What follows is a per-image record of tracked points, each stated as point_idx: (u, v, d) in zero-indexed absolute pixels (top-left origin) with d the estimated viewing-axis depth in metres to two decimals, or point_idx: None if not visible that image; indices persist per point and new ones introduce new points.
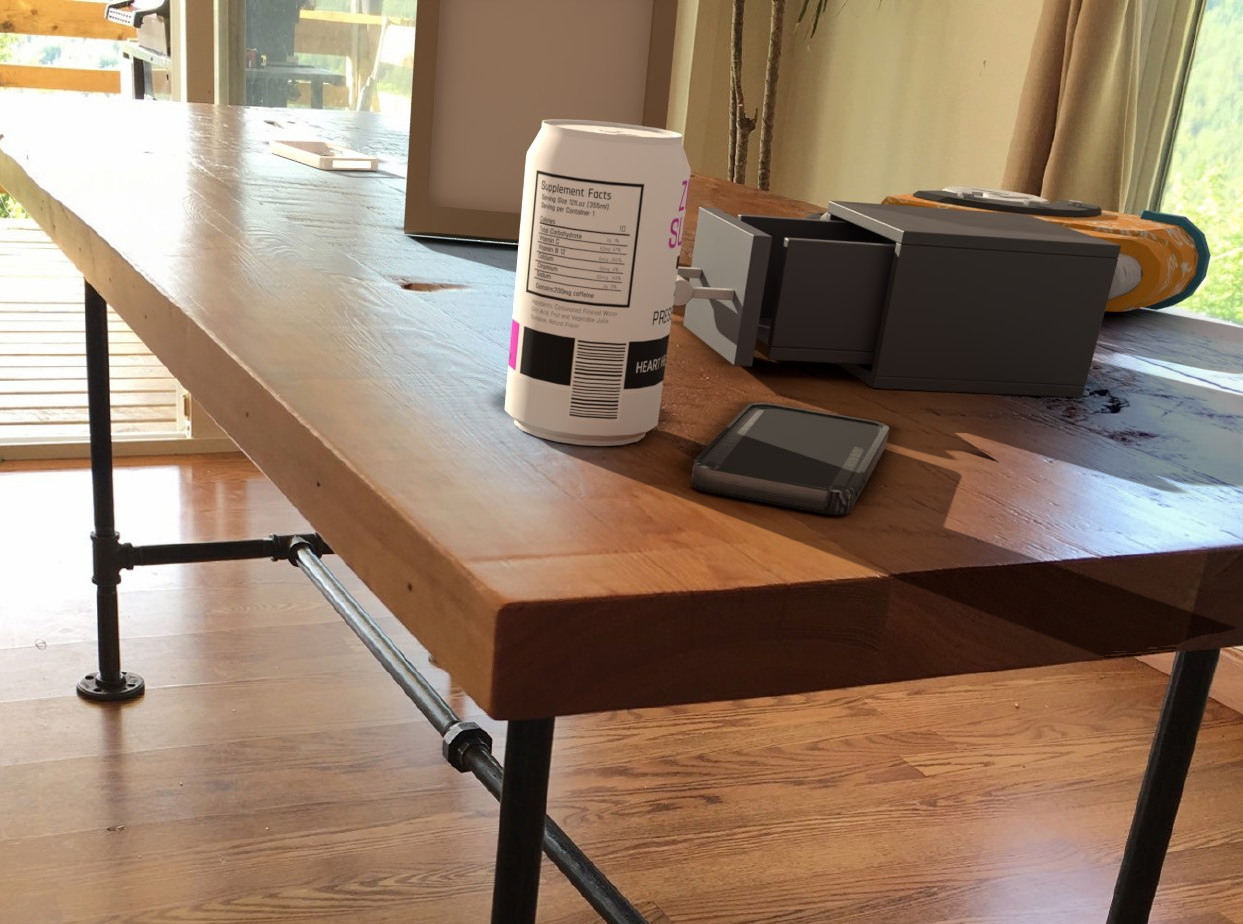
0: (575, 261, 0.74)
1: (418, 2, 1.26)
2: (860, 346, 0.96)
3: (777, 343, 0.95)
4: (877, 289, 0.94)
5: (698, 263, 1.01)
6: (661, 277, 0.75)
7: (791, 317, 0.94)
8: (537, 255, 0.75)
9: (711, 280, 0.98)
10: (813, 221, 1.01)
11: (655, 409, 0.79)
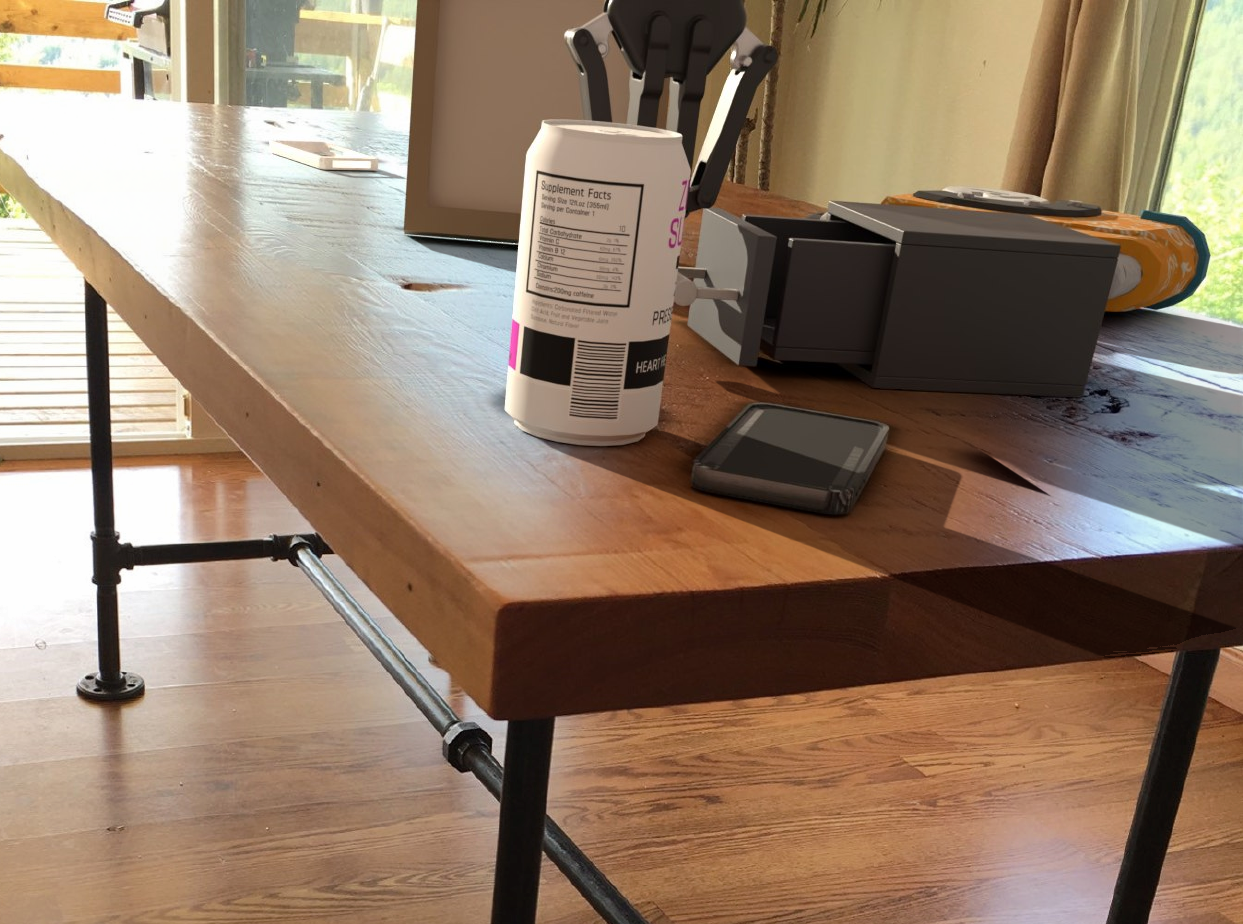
0: (575, 261, 0.74)
1: (418, 2, 1.26)
2: (864, 346, 0.96)
3: (781, 343, 0.95)
4: (881, 289, 0.94)
5: (702, 263, 1.01)
6: (661, 277, 0.75)
7: (795, 317, 0.94)
8: (537, 255, 0.75)
9: (716, 280, 0.98)
10: (817, 221, 1.01)
11: (655, 409, 0.79)
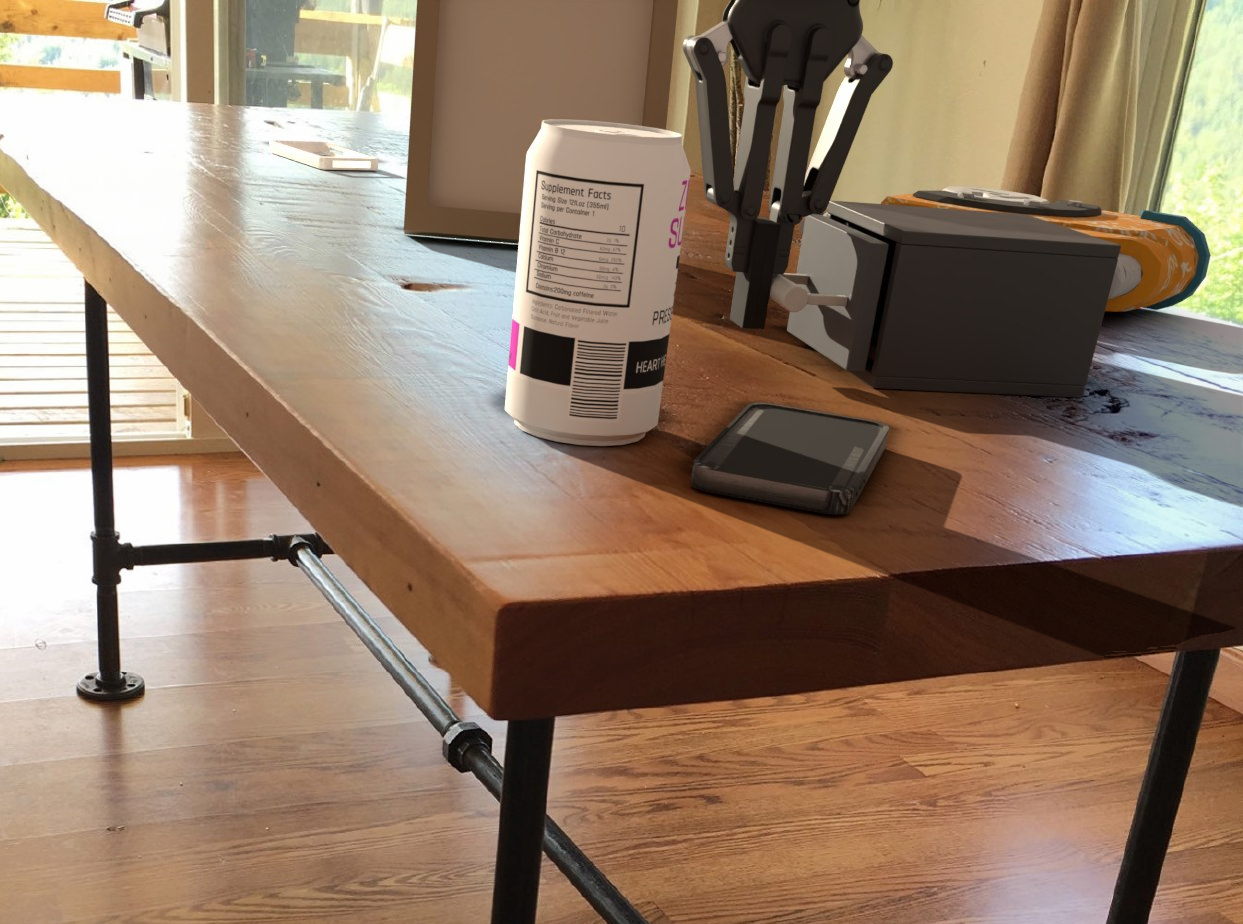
0: (575, 261, 0.74)
1: (418, 2, 1.26)
2: None
3: None
4: None
5: (805, 269, 1.02)
6: (661, 277, 0.75)
7: None
8: (537, 255, 0.75)
9: (821, 287, 1.00)
10: None
11: (655, 409, 0.79)
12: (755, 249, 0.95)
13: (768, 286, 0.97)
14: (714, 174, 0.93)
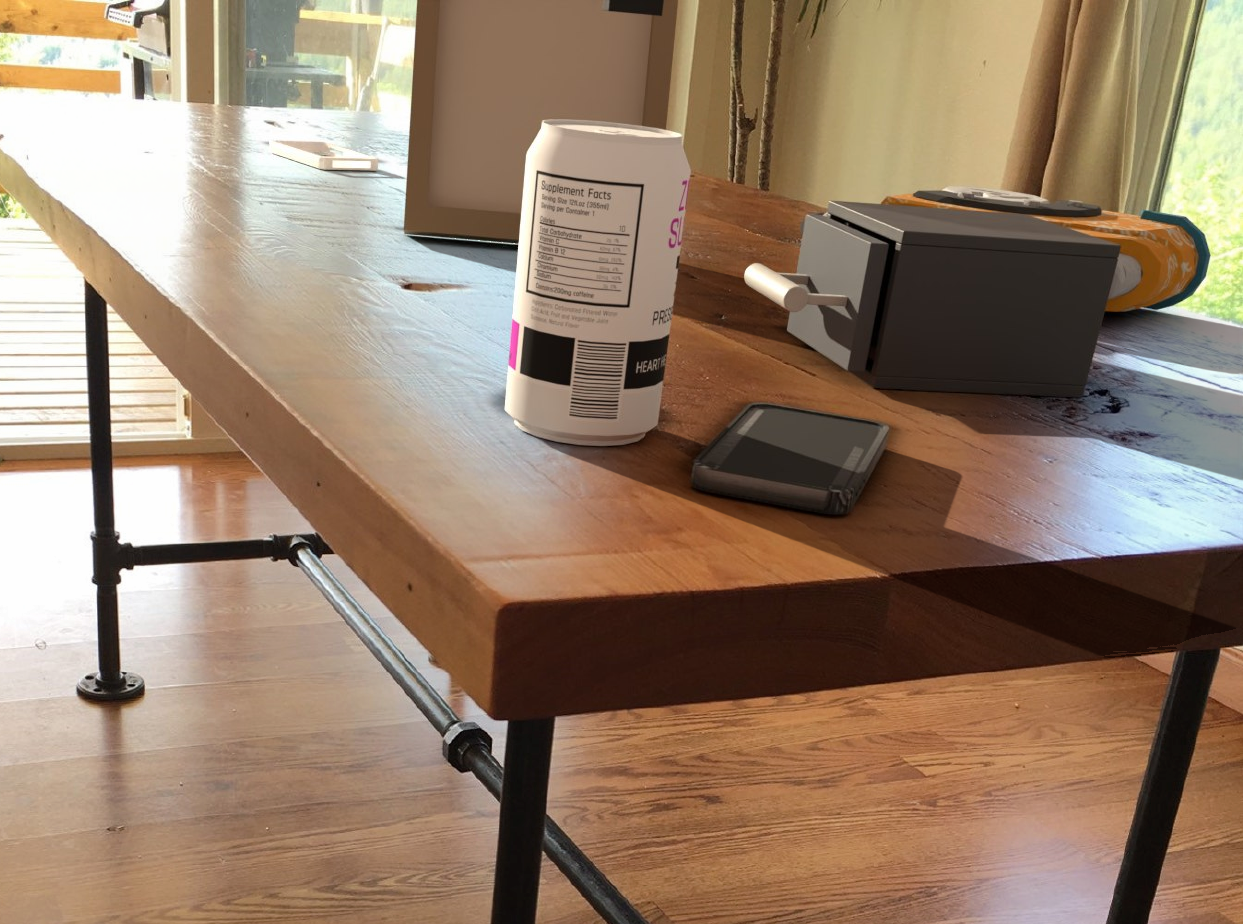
0: (575, 261, 0.74)
1: (418, 2, 1.26)
2: None
3: None
4: None
5: (805, 269, 1.02)
6: (661, 277, 0.75)
7: None
8: (537, 255, 0.75)
9: (821, 287, 1.00)
10: None
11: (655, 409, 0.79)
12: None
13: None
14: None
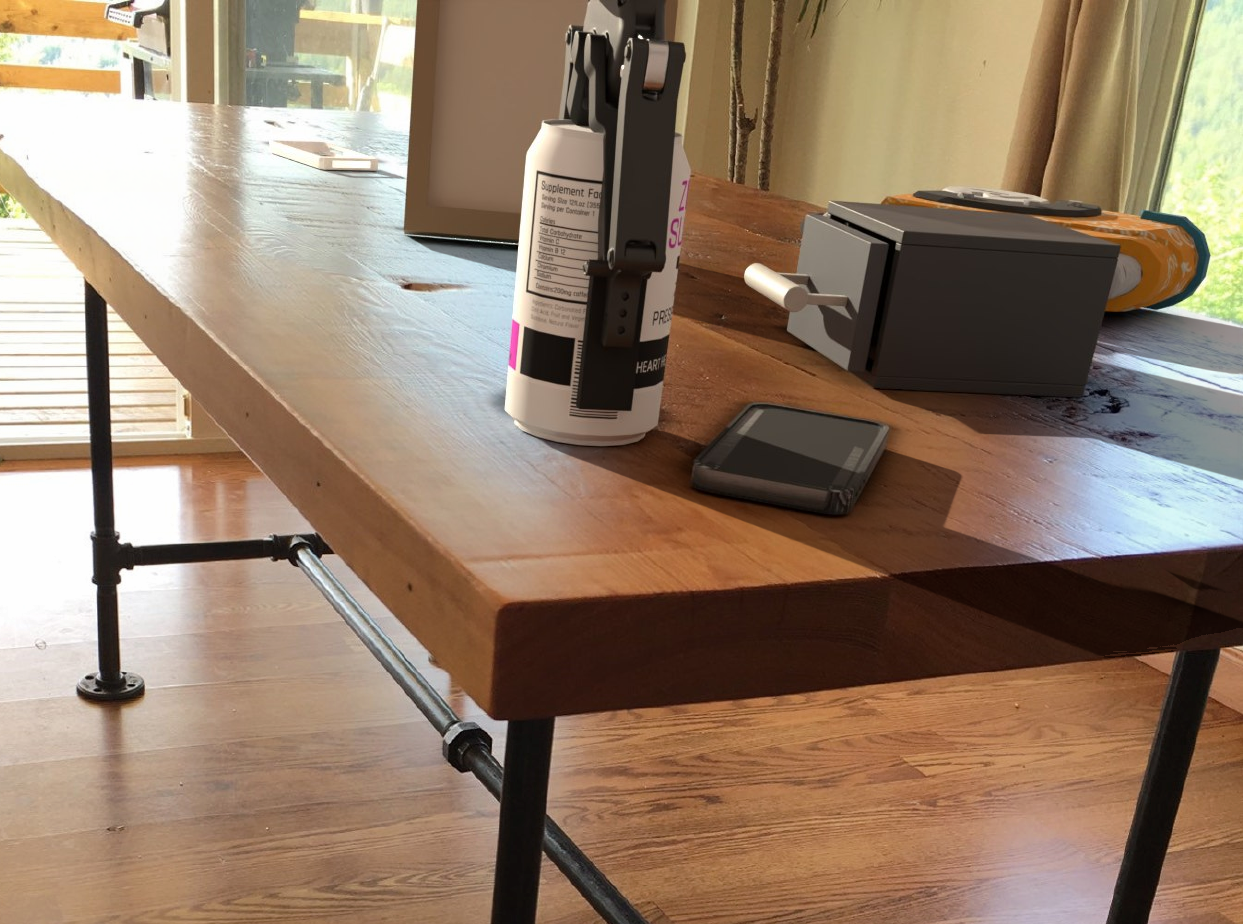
0: (575, 261, 0.74)
1: (418, 2, 1.26)
2: None
3: None
4: None
5: (805, 269, 1.02)
6: (661, 277, 0.75)
7: None
8: (537, 255, 0.75)
9: (821, 287, 1.00)
10: None
11: (655, 409, 0.79)
12: (643, 311, 0.74)
13: None
14: (666, 225, 0.70)
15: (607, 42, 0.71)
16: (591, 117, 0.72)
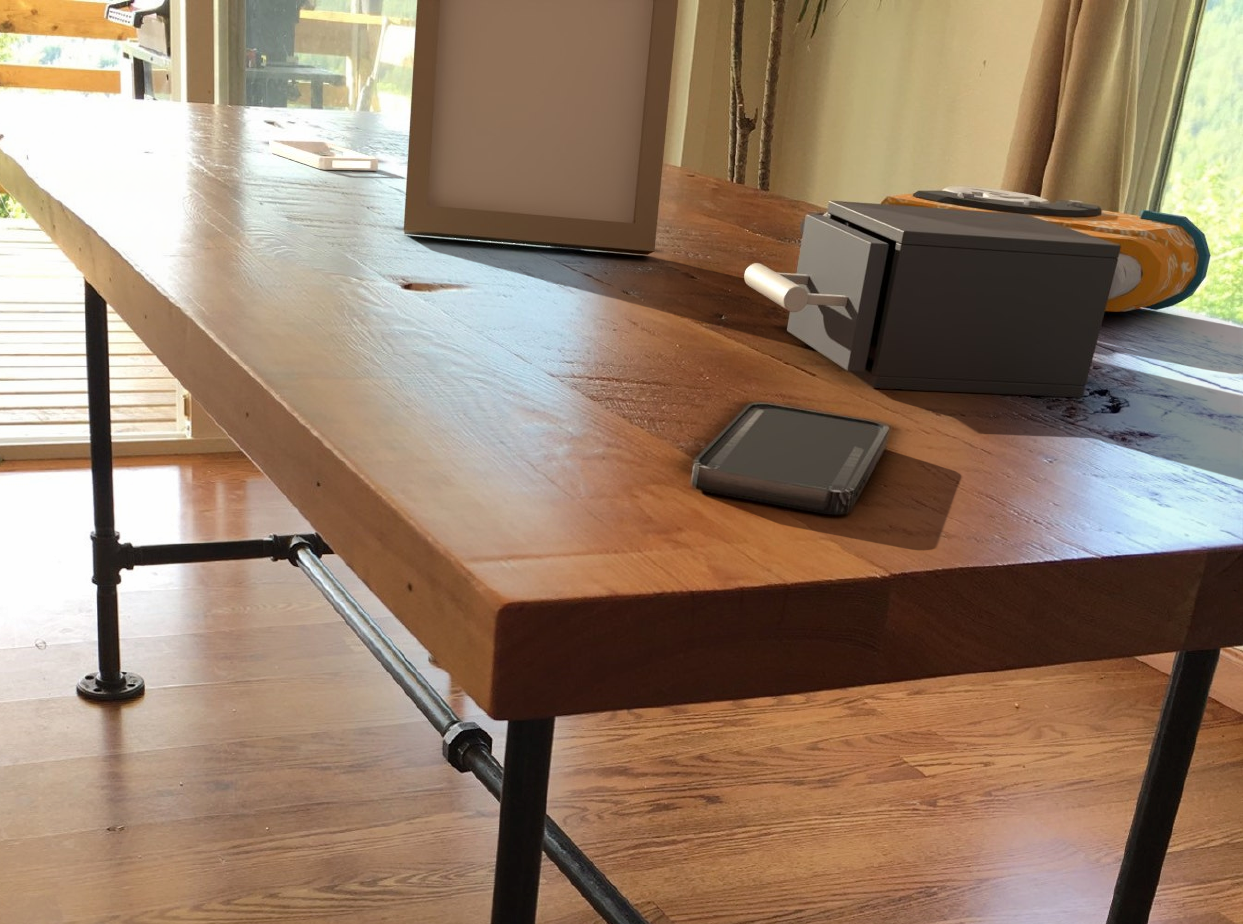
0: None
1: (418, 2, 1.26)
2: None
3: None
4: None
5: (805, 269, 1.02)
6: None
7: None
8: None
9: (821, 287, 1.00)
10: None
11: None
12: None
13: None
14: None
15: None
16: None
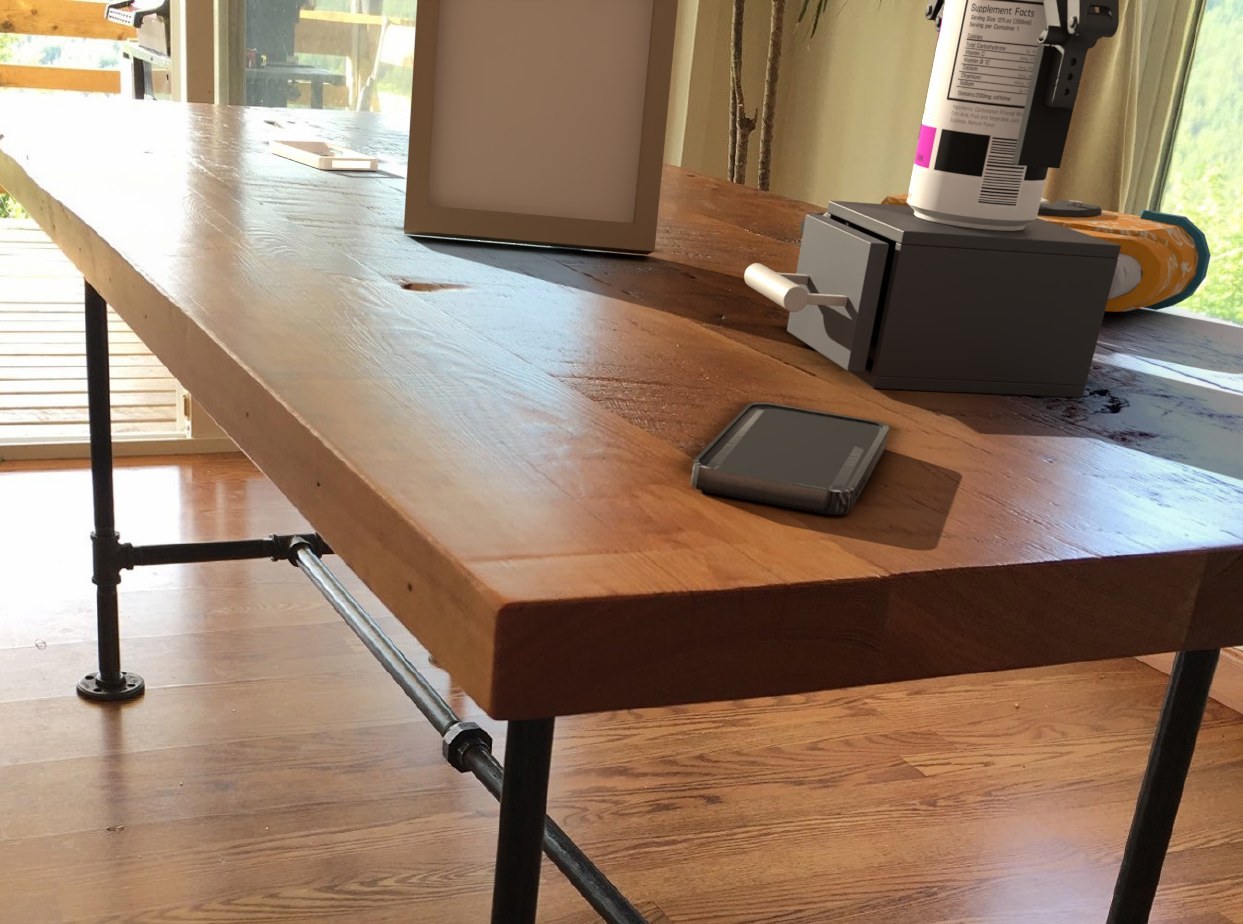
0: (998, 69, 0.91)
1: (418, 2, 1.26)
2: None
3: None
4: None
5: (805, 269, 1.02)
6: None
7: None
8: (962, 66, 0.92)
9: (821, 287, 1.00)
10: None
11: (1039, 202, 0.96)
12: None
13: None
14: None
15: None
16: None
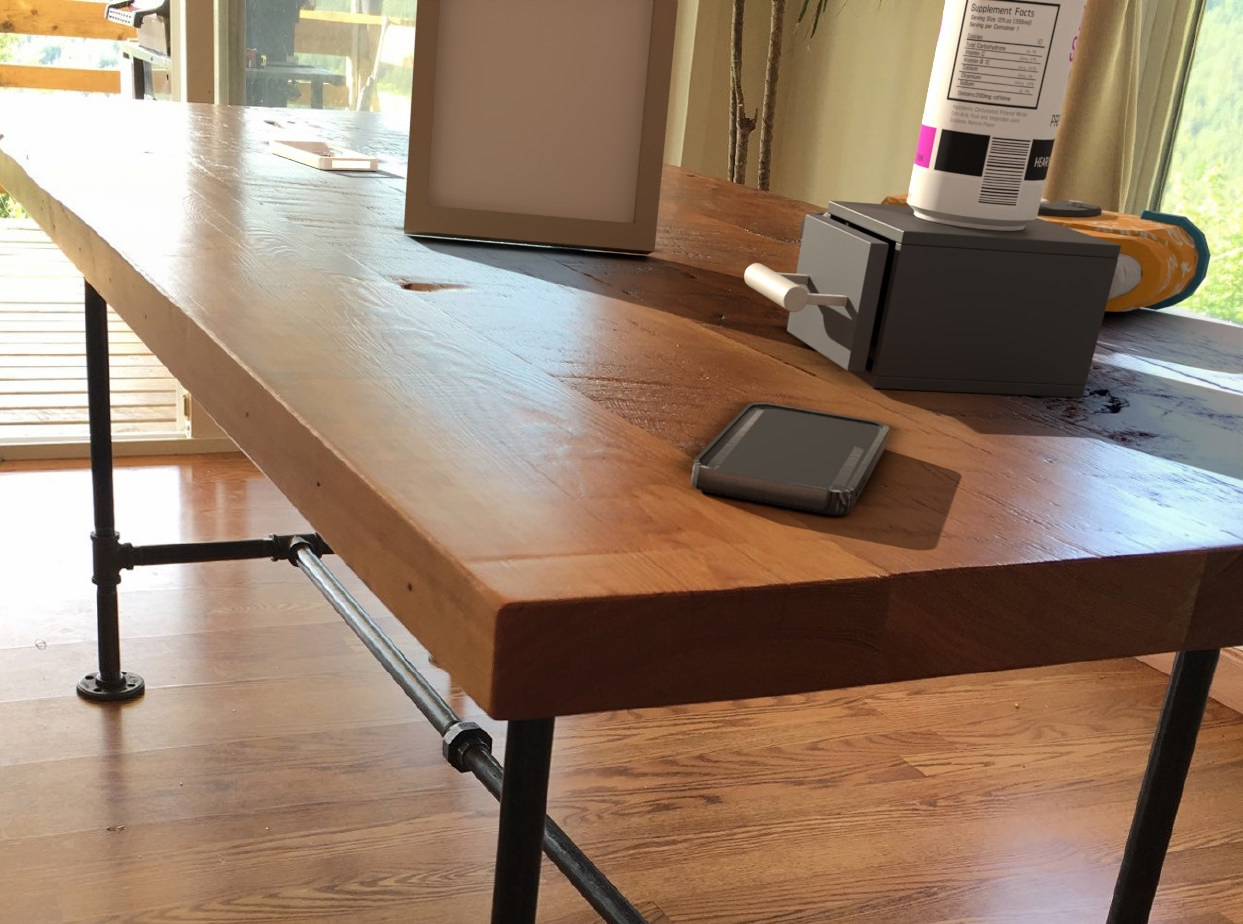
0: (998, 69, 0.91)
1: (418, 2, 1.26)
2: None
3: None
4: None
5: (805, 269, 1.02)
6: (1061, 85, 0.92)
7: None
8: (962, 66, 0.92)
9: (821, 287, 1.00)
10: None
11: (1039, 202, 0.96)
12: None
13: None
14: None
15: None
16: None
